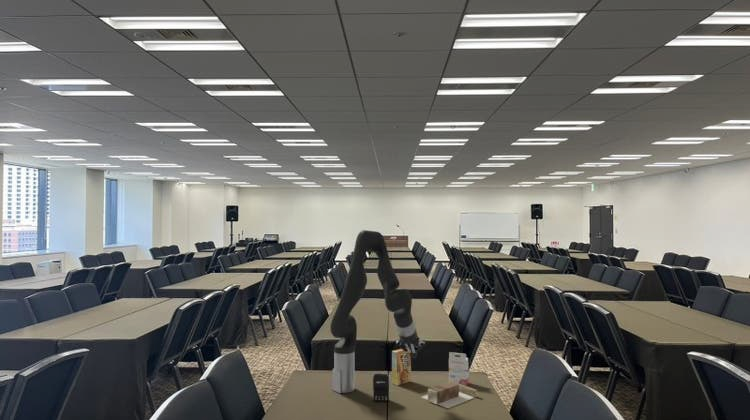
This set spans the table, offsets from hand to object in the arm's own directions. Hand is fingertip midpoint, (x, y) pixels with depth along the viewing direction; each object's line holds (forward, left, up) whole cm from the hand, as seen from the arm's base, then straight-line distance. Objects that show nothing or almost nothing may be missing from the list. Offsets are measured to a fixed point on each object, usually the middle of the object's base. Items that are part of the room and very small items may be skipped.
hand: (414, 356), depth 201 cm
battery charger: (-13, +7, -18) cm, 23 cm away
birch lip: (+21, -9, -18) cm, 29 cm away
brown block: (+2, -9, -15) cm, 18 cm away
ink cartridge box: (+29, 0, -18) cm, 35 cm away
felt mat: (+11, -9, -18) cm, 23 cm away
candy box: (+9, +18, -18) cm, 27 cm away
